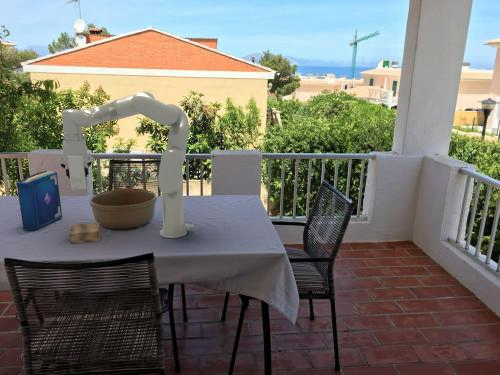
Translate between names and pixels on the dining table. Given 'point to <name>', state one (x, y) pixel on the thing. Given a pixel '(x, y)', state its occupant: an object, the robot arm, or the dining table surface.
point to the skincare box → (77, 172)
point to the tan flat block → (85, 233)
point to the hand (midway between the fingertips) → (77, 176)
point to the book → (39, 200)
